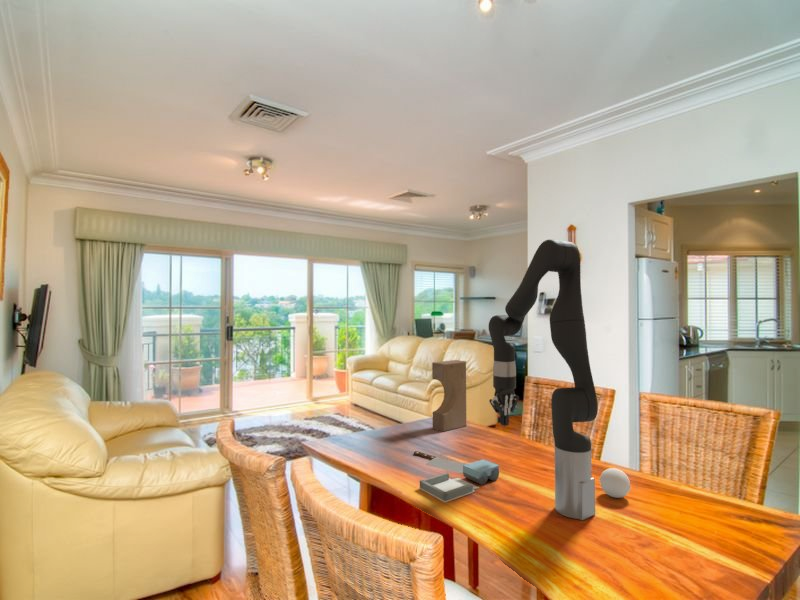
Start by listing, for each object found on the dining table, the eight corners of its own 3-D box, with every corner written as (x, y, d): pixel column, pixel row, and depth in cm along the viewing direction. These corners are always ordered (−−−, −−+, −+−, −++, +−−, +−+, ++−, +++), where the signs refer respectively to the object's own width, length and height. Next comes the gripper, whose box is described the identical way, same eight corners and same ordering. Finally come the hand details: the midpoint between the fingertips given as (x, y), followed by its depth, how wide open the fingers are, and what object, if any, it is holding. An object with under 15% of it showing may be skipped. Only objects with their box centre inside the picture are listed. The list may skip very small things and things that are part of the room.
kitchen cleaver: (402, 457, 156) (419, 449, 164) (402, 460, 156) (419, 451, 164) (458, 475, 140) (474, 465, 148) (458, 478, 140) (474, 468, 148)
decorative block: (455, 422, 205) (454, 359, 205) (466, 426, 199) (466, 361, 199) (432, 428, 195) (431, 362, 196) (443, 432, 189) (443, 364, 190)
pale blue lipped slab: (500, 478, 138) (500, 465, 138) (479, 486, 132) (478, 472, 132) (484, 472, 144) (484, 458, 144) (463, 479, 138) (462, 465, 138)
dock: (482, 489, 130) (482, 481, 130) (445, 503, 121) (445, 494, 121) (456, 477, 139) (456, 469, 139) (419, 489, 130) (419, 480, 130)
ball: (594, 491, 128) (594, 464, 128) (619, 490, 129) (619, 463, 129) (609, 503, 120) (609, 474, 120) (636, 502, 121) (636, 473, 121)
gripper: (499, 377, 138) (500, 431, 138) (526, 373, 146) (526, 424, 146) (482, 374, 144) (482, 426, 144) (508, 370, 152) (508, 419, 152)
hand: (504, 425), depth 145 cm, fingers closed
